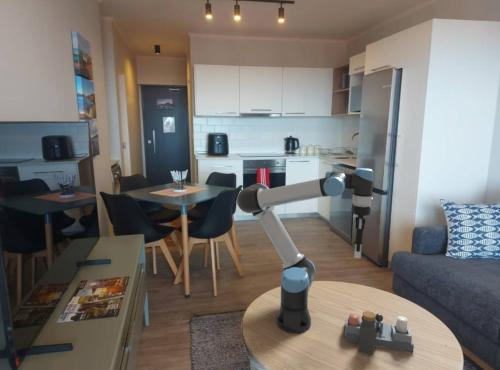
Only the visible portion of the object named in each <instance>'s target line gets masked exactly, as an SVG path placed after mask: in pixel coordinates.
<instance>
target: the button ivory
mask: <svg viewBox="0 0 500 370" xmlns="http://www.w3.org/2000/svg"><path fill="white" fill-rule="evenodd" d="M395 323H396V324H395V325H396V331H397V332H399V333H403V334H405V333H407V326H408V323H409V319H408V318H407V317H405V316H402V315H399V316H397V317H396V321H395ZM408 327H409V326H408Z"/></svg>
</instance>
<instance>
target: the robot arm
mask: <svg viewBox="0 0 500 370" xmlns="http://www.w3.org/2000/svg"><path fill="white" fill-rule="evenodd" d="M373 185H374V170H373V169H372V168H367V167H366V168H364V167H358V168H355V169H354V172H348V171H347V172H345V171H336V170H332V171H326V172H325V176H324V177H321V178H318V179H313V180H306V181H303V182H301V181H300V182H297V183H292V184H287V185H283V186H276V187H273V188H269V187H268V186H267V184H264V183H253V184H251V185H249V186H247V187H245V188H243V189H241V190H240V191H239V193H238V194H237V197H236V205H237V206H238V208H239V209H240V210H241V211H242V212H244V213H245V214H251V215H252V216H253V217H254V218H257V219H258V221H260V224H261V226H262V227H263V229H264V230H265V232H266V235H267V236H268V237H269V239H270V241H271V242H272V245H273V246H274V248H275V250H276V251H277V253H278V255H279V257H280V259H281V260H282V262H283V265H282V268H283V271H282V273H281V277H280V305H279V307H278V312H277V314H276V318H275V319H276V320H275V322H276V326H278V328H280V329H281V330H283V331H284V332H287V333H292V334H300V333H304V332H306V331H308V330H309V329H310V328H311V326H312V319H311V314H310V312H309V308H308V304H309V303H308V302H309V299H308V298H309V295H308V294H309V291H310V288H311V286H312V285H313V282H314V281H315V277H316V267H315V265H314V262H312V261H311V260H310V259H307V257H306V256H305V254H303V253H300V252H299V250H298V248H297V246H296V245H295V243H294V241H293V240H292V238H291V236H290V235H289V233H288V231H287V230H286V228H285V226H284V223H282V221H281V219H280V217H279V215H278V214H277V212H276V210H275V207H276V206H282V205H288V204H291V203H298V202H303V201H308V200H314V199H319V198H323V197H324V198H325V197H332V198H333V197H338V196H340V195H342V193H344V191H353V192H352V201H351V203H352V206H351V213H352V214H353V215H355V221H354V222H355V229H356V231H355V232H356V233H355V240H354V242H353V244H354V253H353V255H354V256H353V258H355V259H361V255H362V248H363V247H362V245H363V243H364V241H363V234H364V229H365V224H366V217H368V216H370V215H371V210H372V206H371V205H372V201H373V200H374V198H373V188H374V187H373ZM356 215H357V216H356Z"/></svg>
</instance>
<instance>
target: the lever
mask: <svg viewBox="0 0 500 370" xmlns="http://www.w3.org/2000/svg"><path fill="white" fill-rule="evenodd" d="M375 315H376V316H375V319H376V323H375V325H376V329H377V330H379V324H380V322H381V321H382V320H383V321H384V316H383V314H382V313H376V314H375Z"/></svg>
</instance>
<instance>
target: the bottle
mask: <svg viewBox="0 0 500 370" xmlns="http://www.w3.org/2000/svg"><path fill="white" fill-rule="evenodd" d="M375 316H376V314H375V313H374V312H372V311H370V310H364V311H362V316H361V320H362V322H361V323H360V334H359V343H358V350H359V351H360V352H361V353H362V354H363V355H364V354H365V355H373V354H374V353H375V350H376V349H375V348H376V346H375V339H376V325H375V323H376V319H375Z"/></svg>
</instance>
